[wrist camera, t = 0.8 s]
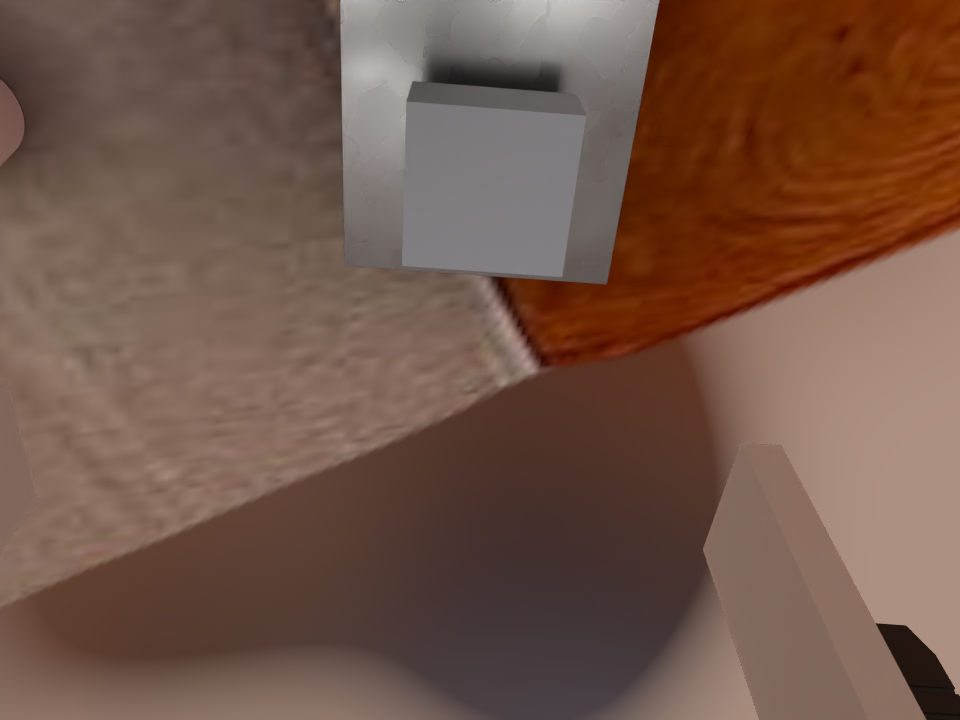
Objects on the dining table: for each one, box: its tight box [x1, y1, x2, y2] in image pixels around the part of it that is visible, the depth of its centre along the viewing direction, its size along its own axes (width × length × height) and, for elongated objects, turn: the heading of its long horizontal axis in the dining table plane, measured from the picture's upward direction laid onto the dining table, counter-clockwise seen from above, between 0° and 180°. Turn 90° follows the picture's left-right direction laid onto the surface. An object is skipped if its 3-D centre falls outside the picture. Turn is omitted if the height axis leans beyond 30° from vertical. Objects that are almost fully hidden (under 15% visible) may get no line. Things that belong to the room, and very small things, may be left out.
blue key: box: [402, 81, 586, 277], centre depth 25 cm, size 5×5×5 cm
